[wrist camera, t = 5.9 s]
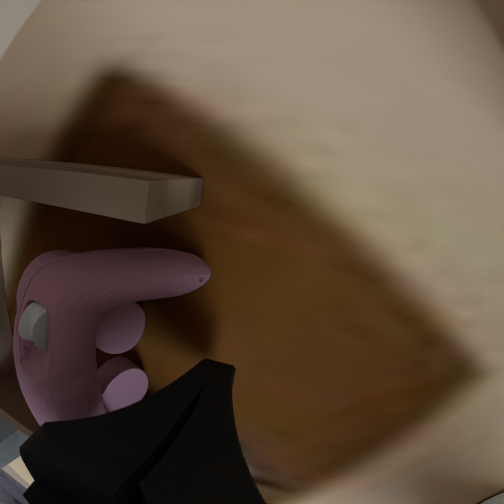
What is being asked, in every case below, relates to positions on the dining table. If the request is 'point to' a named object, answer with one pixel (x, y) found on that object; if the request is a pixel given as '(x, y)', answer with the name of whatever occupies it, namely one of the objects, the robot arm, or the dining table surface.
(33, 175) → the box
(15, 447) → the coffeepot
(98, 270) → the video game controller
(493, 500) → the paper towel roll
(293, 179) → the dining table surface
